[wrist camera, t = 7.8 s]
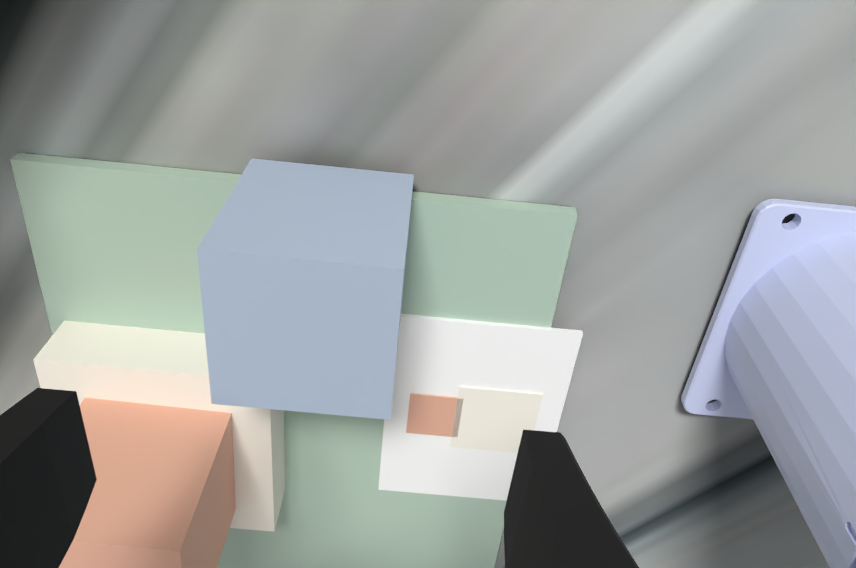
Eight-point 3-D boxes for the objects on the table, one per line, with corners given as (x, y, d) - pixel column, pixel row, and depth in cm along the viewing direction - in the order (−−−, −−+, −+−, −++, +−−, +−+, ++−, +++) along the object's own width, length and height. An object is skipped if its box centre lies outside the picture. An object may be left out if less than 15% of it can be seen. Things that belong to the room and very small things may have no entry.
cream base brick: (282, 340, 23) (269, 380, 21) (285, 487, 27) (274, 531, 25) (64, 320, 23) (32, 360, 21) (98, 471, 26) (74, 515, 25)
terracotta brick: (235, 508, 24) (190, 650, 20) (103, 495, 24) (30, 635, 20) (231, 413, 22) (180, 551, 18) (84, 397, 22) (-3, 533, 18)
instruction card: (582, 330, 22) (583, 334, 22) (537, 499, 27) (537, 504, 26) (393, 312, 22) (392, 317, 22) (378, 486, 26) (378, 490, 26)
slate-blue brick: (414, 174, 20) (404, 268, 15) (402, 307, 22) (390, 419, 18) (251, 158, 19) (196, 248, 15) (257, 293, 22) (211, 404, 18)
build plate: (574, 207, 21) (577, 215, 20) (472, 647, 33) (473, 657, 33) (18, 152, 20) (9, 159, 20) (127, 619, 33) (123, 630, 32)
